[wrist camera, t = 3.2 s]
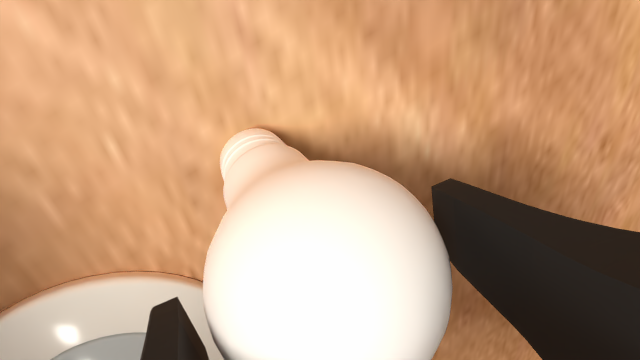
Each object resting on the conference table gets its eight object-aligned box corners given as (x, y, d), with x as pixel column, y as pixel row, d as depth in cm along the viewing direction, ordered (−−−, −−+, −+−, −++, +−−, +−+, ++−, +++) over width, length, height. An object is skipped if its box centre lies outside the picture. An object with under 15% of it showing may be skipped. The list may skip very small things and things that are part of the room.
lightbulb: (255, 238, 20) (375, 491, 12) (130, 171, 17) (163, 462, 8) (348, 132, 20) (551, 316, 11) (236, 37, 16) (405, 196, 7)
